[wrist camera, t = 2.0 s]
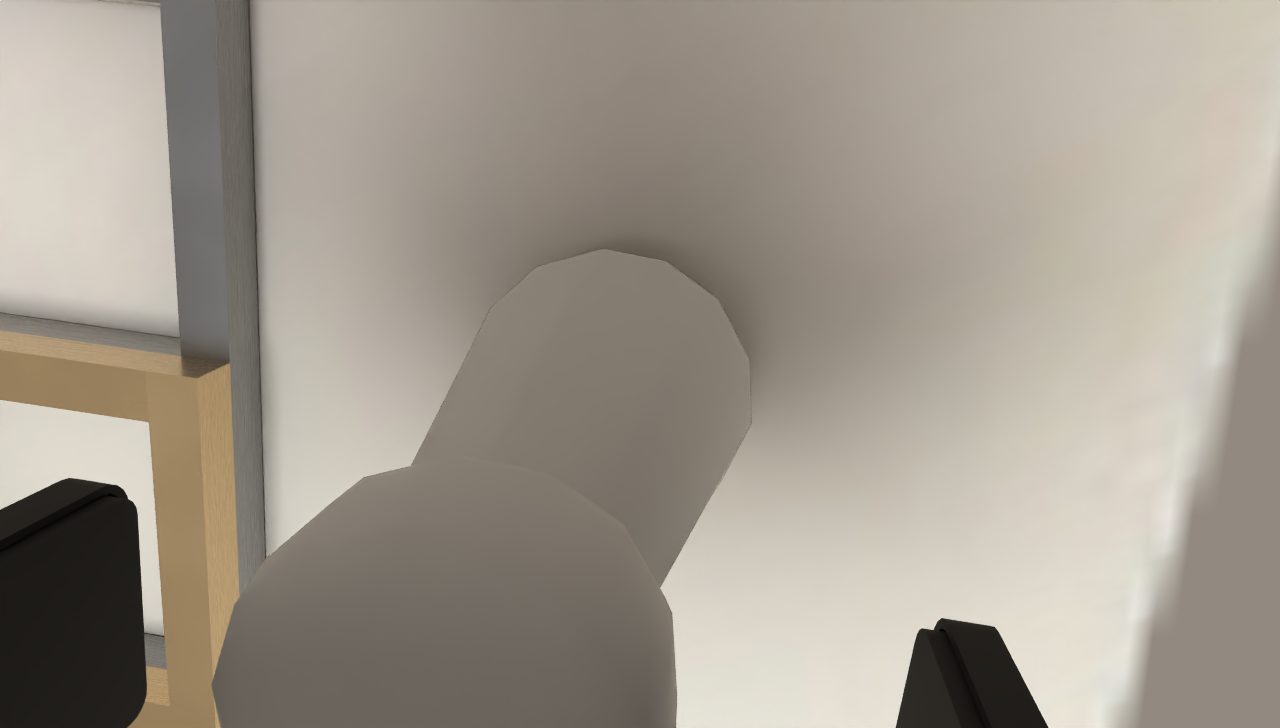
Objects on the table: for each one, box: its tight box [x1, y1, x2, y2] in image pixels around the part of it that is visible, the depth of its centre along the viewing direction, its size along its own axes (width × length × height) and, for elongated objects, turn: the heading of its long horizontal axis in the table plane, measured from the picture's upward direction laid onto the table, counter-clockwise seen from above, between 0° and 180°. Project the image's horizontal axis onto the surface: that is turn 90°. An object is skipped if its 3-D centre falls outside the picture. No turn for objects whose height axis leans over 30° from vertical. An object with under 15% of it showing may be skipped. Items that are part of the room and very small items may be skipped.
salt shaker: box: [211, 249, 752, 728], centre depth 13 cm, size 6×6×13 cm
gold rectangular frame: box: [0, 330, 239, 728], centre depth 22 cm, size 19×10×2 cm, turn 174°
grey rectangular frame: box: [0, 0, 265, 670], centre depth 20 cm, size 19×10×1 cm, turn 174°
